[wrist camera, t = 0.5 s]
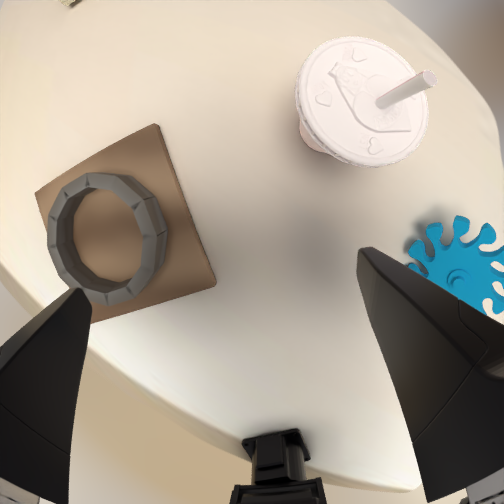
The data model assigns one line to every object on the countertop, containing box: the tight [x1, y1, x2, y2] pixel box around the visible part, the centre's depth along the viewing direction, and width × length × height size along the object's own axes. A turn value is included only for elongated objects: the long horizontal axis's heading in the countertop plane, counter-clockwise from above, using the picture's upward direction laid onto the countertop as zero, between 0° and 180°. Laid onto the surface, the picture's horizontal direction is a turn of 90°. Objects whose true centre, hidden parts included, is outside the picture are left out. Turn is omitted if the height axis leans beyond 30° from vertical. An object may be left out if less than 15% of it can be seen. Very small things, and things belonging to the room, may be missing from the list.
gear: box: [408, 215, 504, 315], centre depth 20 cm, size 11×6×10 cm
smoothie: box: [295, 36, 437, 167], centre depth 13 cm, size 6×6×14 cm
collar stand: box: [35, 123, 216, 324], centre depth 21 cm, size 13×13×4 cm
